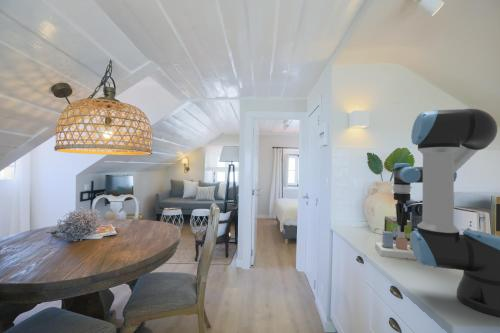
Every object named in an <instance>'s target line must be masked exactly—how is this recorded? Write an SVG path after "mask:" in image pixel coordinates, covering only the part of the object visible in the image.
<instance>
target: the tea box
mask: <svg viewBox="0 0 500 333" xmlns="http://www.w3.org/2000/svg"><path fill="white" fill-rule="evenodd" d="M383 227H384V229H383V231H389V232H392V233H393V244H396V237H398V223H397V217H396V216H390V215H384V226H383ZM411 232H412V221H411V220H408V219H407V225H405V238H406V239H407V245H410V233H411Z"/></svg>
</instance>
